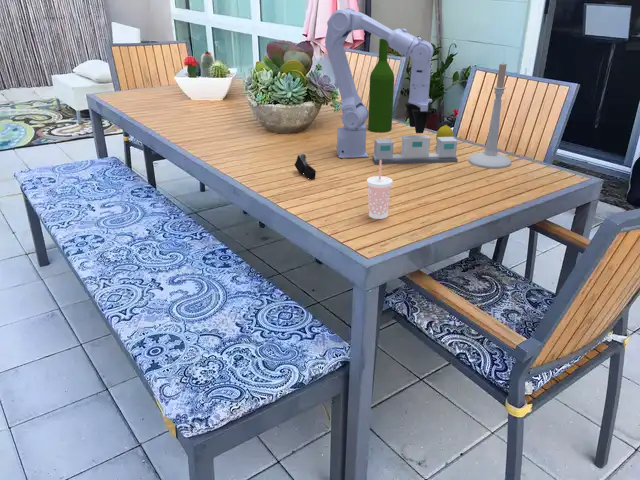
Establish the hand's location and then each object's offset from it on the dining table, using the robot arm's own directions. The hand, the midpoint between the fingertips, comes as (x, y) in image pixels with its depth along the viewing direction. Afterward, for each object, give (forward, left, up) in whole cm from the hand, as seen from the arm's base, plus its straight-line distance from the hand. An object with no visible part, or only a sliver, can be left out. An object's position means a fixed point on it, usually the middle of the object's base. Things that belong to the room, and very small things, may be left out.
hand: (416, 129), depth 165 cm
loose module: (0, 0, -8) cm, 8 cm away
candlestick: (+23, -4, -10) cm, 25 cm away
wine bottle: (-4, +39, -10) cm, 40 cm away
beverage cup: (-19, -42, -10) cm, 47 cm away
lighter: (-35, -11, -10) cm, 38 cm away
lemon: (+13, +12, -10) cm, 20 cm away
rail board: (0, 0, -10) cm, 10 cm away
